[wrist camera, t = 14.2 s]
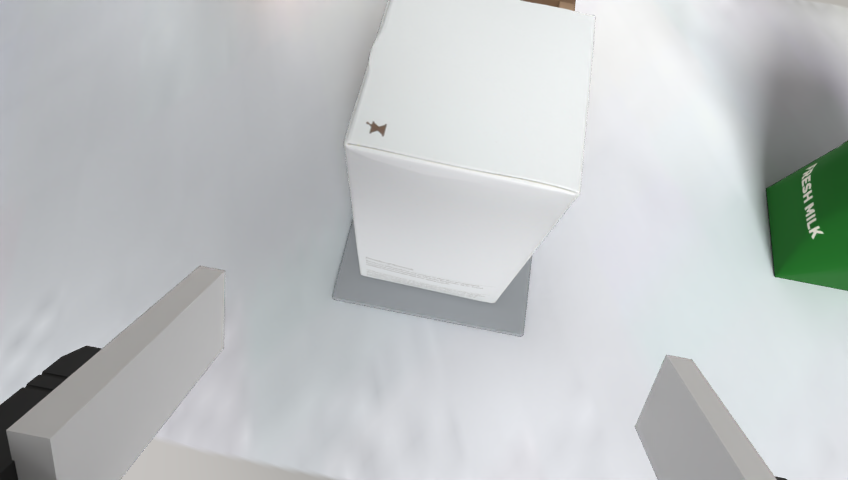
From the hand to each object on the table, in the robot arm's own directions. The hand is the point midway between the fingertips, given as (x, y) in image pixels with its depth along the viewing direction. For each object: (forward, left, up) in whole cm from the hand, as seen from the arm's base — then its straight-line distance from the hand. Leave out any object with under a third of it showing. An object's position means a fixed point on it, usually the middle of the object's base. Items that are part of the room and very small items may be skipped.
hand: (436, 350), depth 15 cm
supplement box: (-7, +8, -15) cm, 19 cm away
